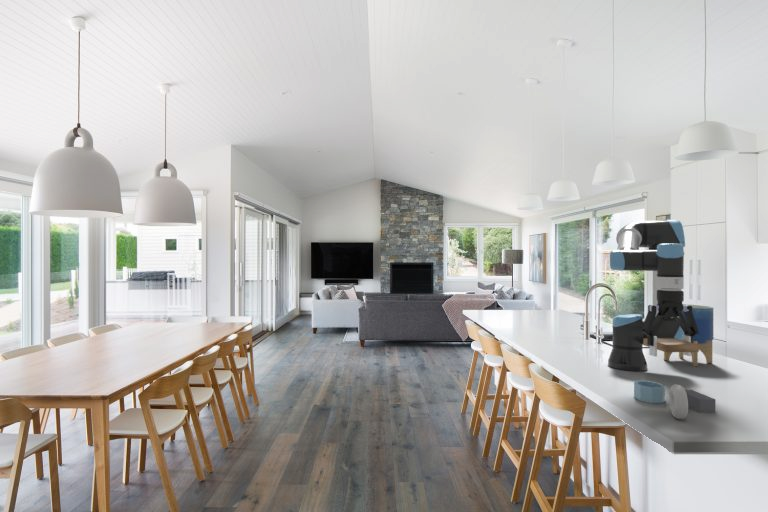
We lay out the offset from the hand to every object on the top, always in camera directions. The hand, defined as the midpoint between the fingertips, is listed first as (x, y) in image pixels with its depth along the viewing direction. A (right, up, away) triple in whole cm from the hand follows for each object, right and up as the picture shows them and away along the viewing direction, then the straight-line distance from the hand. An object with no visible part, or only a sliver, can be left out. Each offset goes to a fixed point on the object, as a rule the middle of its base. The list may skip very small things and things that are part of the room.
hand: (669, 355), depth 144 cm
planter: (+47, -17, +59) cm, 77 cm away
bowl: (-5, -16, +3) cm, 17 cm away
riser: (+5, -16, -5) cm, 17 cm away
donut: (-7, -16, -15) cm, 23 cm away
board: (0, +2, 0) cm, 2 cm away
